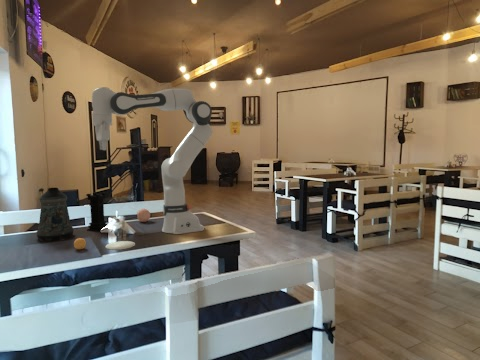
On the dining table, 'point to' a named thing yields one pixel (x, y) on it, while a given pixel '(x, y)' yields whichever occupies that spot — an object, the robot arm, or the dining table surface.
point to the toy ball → (143, 215)
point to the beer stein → (54, 217)
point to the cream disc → (120, 245)
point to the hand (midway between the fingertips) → (103, 150)
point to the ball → (79, 243)
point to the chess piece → (96, 211)
